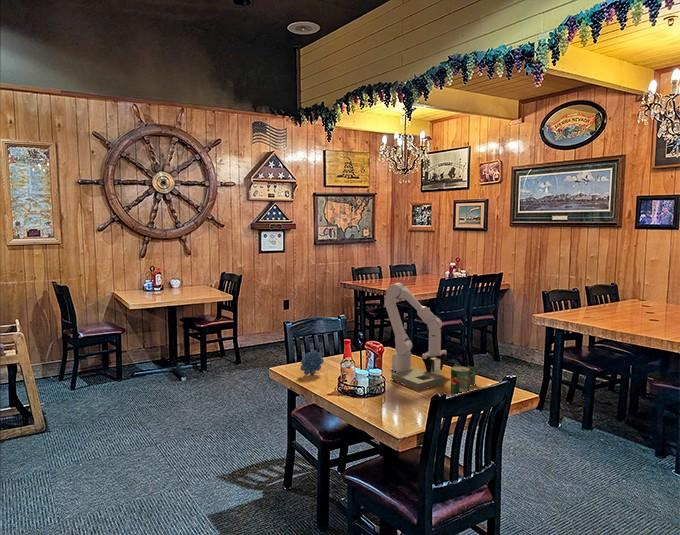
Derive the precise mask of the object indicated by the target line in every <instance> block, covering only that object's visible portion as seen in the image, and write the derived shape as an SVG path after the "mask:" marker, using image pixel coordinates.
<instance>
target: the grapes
mask: <svg viewBox="0 0 680 535" xmlns="http://www.w3.org/2000/svg"><path fill="white" fill-rule="evenodd" d="M324 360H325V359H324V358H323V354H322V352H318V351H317V350H312V351H311V352H310V351H309V352H308V351H307V352H306V353H305V355H304V357H303V358H301V360H300V363H301V366H300V371H302V372H303V374H304V375H305V376H308V375H309V374H310V375H311V376H313V375H315V374H316V371H321V369H322V366H321V365H322V364H324Z"/></svg>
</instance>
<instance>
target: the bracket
mask: <svg viewBox="0 0 680 535" xmlns="http://www.w3.org/2000/svg"><path fill="white" fill-rule="evenodd" d="M453 365H454V366H458V364H457V363H454V364H453ZM454 366H453V367H454ZM478 375H479V365H478V364H474V371H473V370H470V378H469V387H471V386H470V385H474V384H475V385H476V376H478ZM475 385H474V386H475Z"/></svg>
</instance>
